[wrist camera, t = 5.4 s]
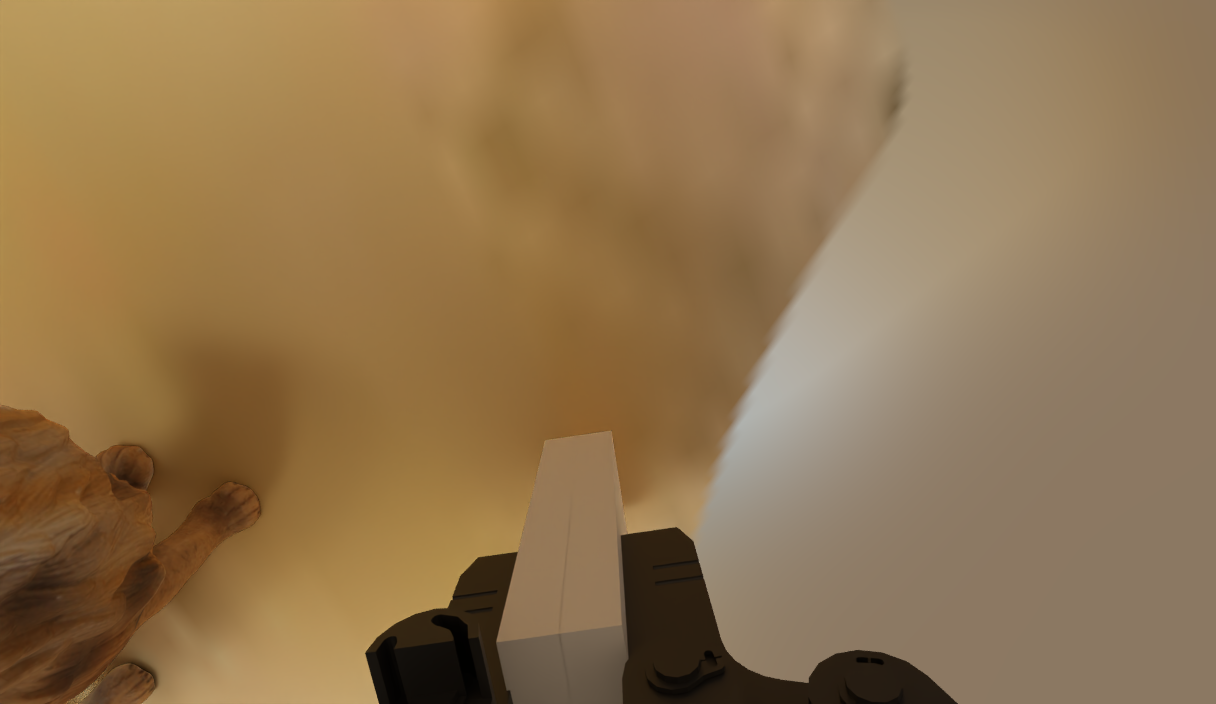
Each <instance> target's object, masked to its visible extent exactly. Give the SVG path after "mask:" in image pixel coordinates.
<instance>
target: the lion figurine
mask: <svg viewBox="0 0 1216 704" xmlns="http://www.w3.org/2000/svg"><path fill="white" fill-rule="evenodd" d="M153 472H154V469H153V462H152V459H151V458H150V457H149V456H148V455H147V454H146V453H145V452H144V451H143V450H142V449H141V448H140V447H137V446H122V445H115V446H112V447H110V448H109V449H108V450H105V451H102V452H100V453H99V454H98V455H97V456H96V458H95V457H93V456H92V455H90V454H88V453H87V452H85V451H84V450H83V449H81V448H80V447H79V446H77V445H76V444H75V443H74V442H73V441H72V440H71V439H70V438H69V430H68V429H67V428H66V427H65V426H62V425H60V424H57V423H55V422H52V421H50V420H48V419H46V418H45V417H44V416H42V415H41V414H40V413H39V412H38V411H34V410H17V409H14V408H10V407H7V406H3V405H0V704H66V703H67V702H68V701H69V700H71V699H72V698H74V697H75V696H77V695H78V694H80V693H81V692H83V691H84V690H85V689H86V688H87V687H88V686H89V685H91V684H92V683H93V682H94V681H95V680H96V679H97V678H98V677H99V676H100V674H101V673H102V672H103V671H104V670H105V669H106V668H107V666H108V665H109V664H110V663H111V662H112V661H113V660H114V658H115V657H116V656H117V655H118V654H119V653H120V652H121V650H122V649H123V648H124V647H125V645H126V644H127V642H128V641H129V639H130V637H131V636H132V635H133V634H134V632H135V631H136V630H137V629H138V628H139V626H141V625H142V624H143V623H144V622H145V621H146V620H148V619H149V618H150V617H152V616H153V615H155V614H156V613H158V612H159V611H160V610H161V609H162V608H163V607H164V606H165V605H166V604H168V603H169V602H170V601H171V600H172V599H173V597H174V596H175V595H176V594H177V593H178V591H179V590H180V589H181V588H182V587H183V585H184V584H185V583H186V581H187V580H188V579H189V578H190V576H192V575H193V574H194V573H195V572H196V571H197V569H198V568H199V567H200V566H201V565H202V564H203V563H204V561H205V560H206V559H207V557H208V556H209V555H210V553H211V552H212V551H213V550H214V548H215V547H217V546H218V545H219V544H220V543H221V542H223V541H224V540H225V539H227V538H228V537H230V536H232V535H233V534H235V533H237V532H240V531H242V530H244V529H246V528H249V527H250V526H252V525H253V524H254V523H255V522H256V520H257V519H258V518H259V516H260V514H261V513H260V504H259V499H258V498H257V496H256V495H255V493H254V492H253V491H252V490H251V489H250V488H248V487H247V486H244V485H240V484H237V483H234V482H227V483H225V484H223V485H222V486H220V487H219V488H218V489H217V490H216V491H214V492H213V494H212V495H211V496H210V497H207V498H204V499H202V500H201V501H199V502H198V503H197V504H196V505H195V506H194V508H193V509H192V511H191V512H190V514H189V515H188V516H187V519H186V520H185V521H184V523H183V524H182V525H181V526H180V527H179V528H178V529H177V530H176V531H175V532H174V533H173V534H172V535H171V536H169V537H168V538H166V539H165V540H163V541H162V542H160V543H159V544H157V545H155V546H153V543H154V540H155V537H156V535H155V531H154V529H153V528H152V527H151V526H150V525H151V523H152V520H153V516H152V513H151V510H152V501H151V498H150V495H149V493H148V492H147V491H146V489H147V487H148V485H149V483H150V481H151V479H152V476H153ZM153 690H154V680H153V677H152V675H151V674H150V673H148V672H146V671H144V670H142V669H140V668H139V667H138V666H136V665H134V664H129V663H128V664H124V665H120V666H117V667H115V668H114V669H113V670H112V671H110V672H109V673H108V674H107V675H106V676H105V677H104V678H103V679H102V680H101V682H100V683H99V684H98V685H97V686H96V687H95V688H94V689H93V690H92V691H91V692H90V694H89V695H88V696H87V697H86V698H85V699H83V700H82V701H81V702H80V703H79V704H141V703H142V702H144V701H145V700H146V699H147V698H148V697H149V696H150V695H151V693H152V692H153Z"/></svg>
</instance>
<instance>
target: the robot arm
mask: <svg viewBox="0 0 1216 704" xmlns="http://www.w3.org/2000/svg"><path fill="white" fill-rule="evenodd" d="M452 597H453V600H451V601H450V604H449V607H448V608H444V609H433V610H429V611H425V612H422V613H418V614H415V615H413V616H410V617H408V618H406V619H404V620H402V621H400V622H398V623H396V624H394V625H393V626H392V627H390V628H389V629H388V630H386V631H385V632H384V633H382V634H381V635H380V636H379V637H377V638H376V640H375V641H374V642H373V644H372V645H371V646H370V647H369V649H368V650H367V651H366V653H365V654H366V658H367V661H368V665H369V669H370V672H371V676H372V680H373V683H374V687H375V690H376V694H377V698H378V701H379V704H958V703H956V702H955V701H954V700H953V699H952V698H951V697H950V696H949V695H948V694H947V693H945V692H944V691H943V690H942V689H941V688H940V687H939V686H938V685H937V684H936V683H935V682H934V681H933V680H931V679H930V678H929V677H928V676H927V675H926V674H924V673H923V672H921V671H920V670H918V669H917V668H915V667H914V666H913V665H911V664H910V663H908V662H907V661H904V660H901V659H899V658H896V657H893V656H890V655H888V654H885V653H881V652H872V651H862V650H855V651H849V652H844V653H837V654H835V655H833V656H831V657H829V658H827V659H826V660H824V661H822V662H820V663H819V664H818V665H817V667H816V668H815V670H814V671H813V673H812V674H811V676H810V677H809V683H803V682H795V681H787V680H780V679H775V678H771V677H765V676H762V675H760V674H758V673H755V672H753V671H750V670H748V669H747V668H745V667H744V666H742V665H741V664H739V663H738V662H736V661H735V660H734V659H733V658H732V656H731V655H730V654H729V653H728V652H727V651H726V649H725V647H724V645H723V643H722V641H721V638H720V634H719V631H718V627H717V623H716V620H715V616H714V613H713V609H712V606H711V603H710V599H709V595H708V592H707V588H706V584H705V581H704V579H703V574H702V570H701V567H700V563H699V560H698V556H697V553H696V549H695V546H694V542H693V541H692V540H691V539H690V538H689V537H688V536H687V535H685V534H684V533H683V532H682V531H681V530H680V529H678V528H677V527H675V528H668V529H661V530H654V531H647V532H640V533H633V534H628V533H627V527H626V520H625V514H624V508H623V501H622V495H621V488H620V482H619V475H618V469H617V463H616V456H615V450H614V443H613V437H612V430H611V431H604V432H597V433H591V434H584V435H577V436H570V437H563V438H556V439H549V440H545V442H544V446H543V450H542V454H541V459H540V463H539V467H538V471H537V475H536V479H535V483H534V488H533V492H532V496H531V500H530V504H529V508H528V512H527V517H526V521H525V525H524V529H523V533H522V537H521V541H520V546H519V550H518V552H513V553H506V554H499V555H492V556H485V557H478V558H477V559H476V560H475V561H474V563H473V564H472V565H471V566H470V567H469V568H468V569H467V570H466V571H465V572H464V573H463V574H462V575H461V576H460V578H459V581H458V583H457V586H456V588H455V591H454V594H453V596H452Z"/></svg>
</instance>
